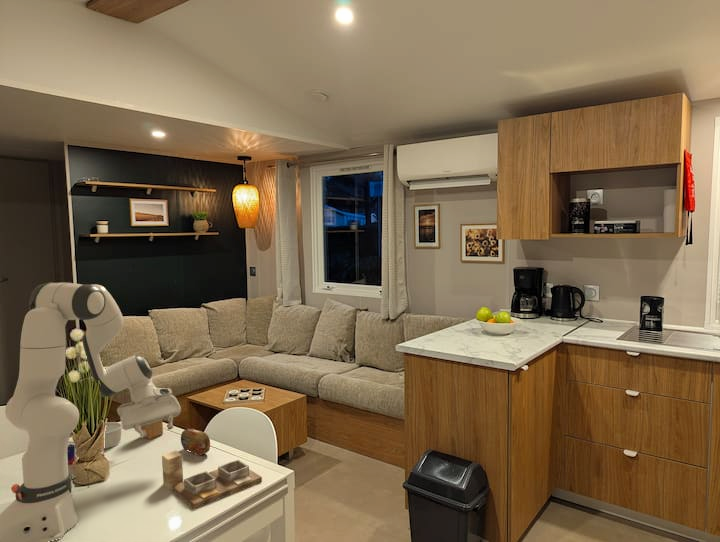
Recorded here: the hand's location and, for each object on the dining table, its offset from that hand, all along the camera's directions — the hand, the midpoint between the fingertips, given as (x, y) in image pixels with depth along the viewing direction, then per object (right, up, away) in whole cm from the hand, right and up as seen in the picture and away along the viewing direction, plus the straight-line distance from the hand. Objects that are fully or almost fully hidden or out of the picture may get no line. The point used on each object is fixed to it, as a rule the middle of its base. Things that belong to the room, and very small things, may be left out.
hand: (157, 432), depth 177 cm
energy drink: (-30, -16, -1) cm, 34 cm away
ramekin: (-32, -14, +27) cm, 45 cm away
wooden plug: (+8, -15, -7) cm, 19 cm away
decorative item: (-16, -13, +35) cm, 41 cm away
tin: (+8, -14, +18) cm, 24 cm away
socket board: (+24, -15, -9) cm, 29 cm away
